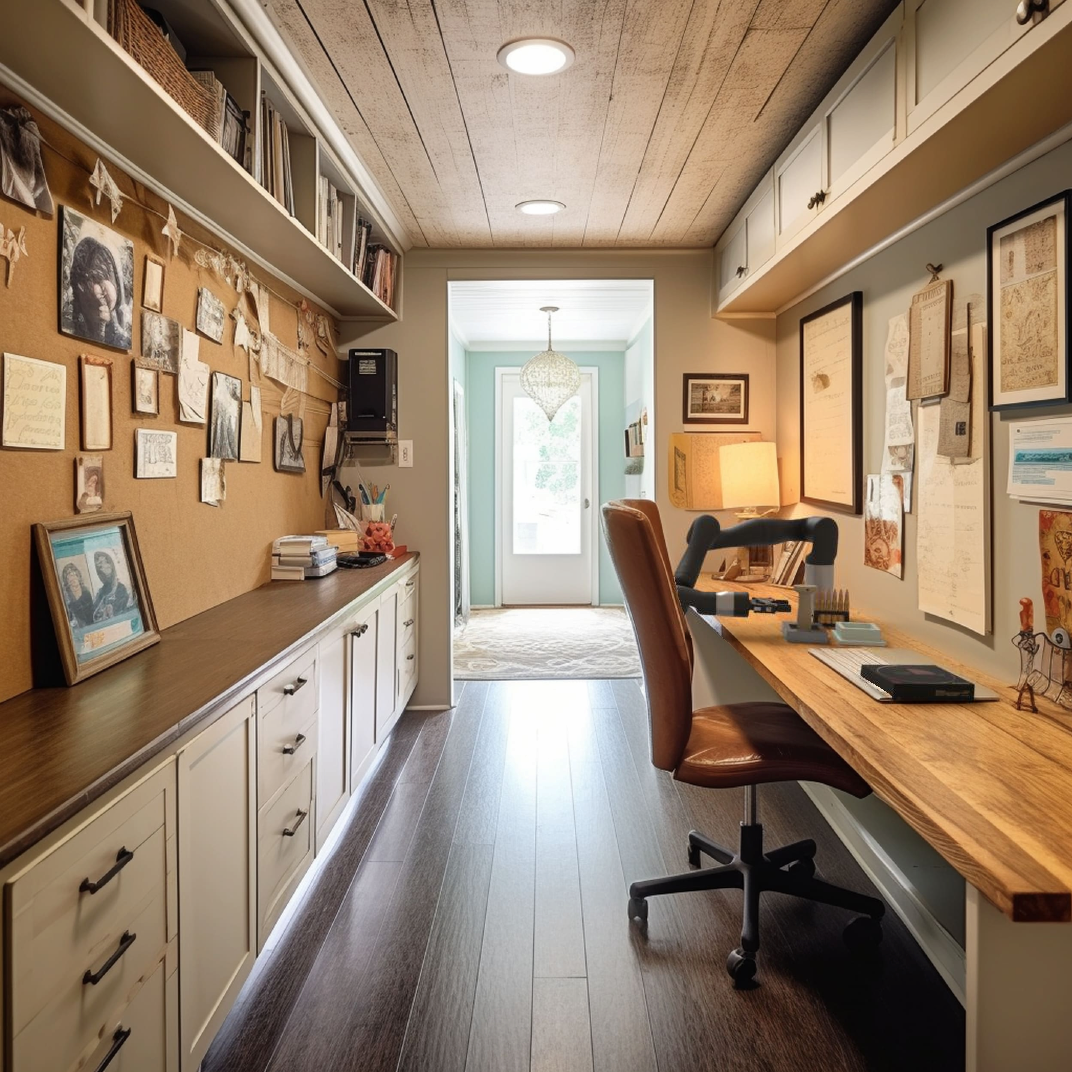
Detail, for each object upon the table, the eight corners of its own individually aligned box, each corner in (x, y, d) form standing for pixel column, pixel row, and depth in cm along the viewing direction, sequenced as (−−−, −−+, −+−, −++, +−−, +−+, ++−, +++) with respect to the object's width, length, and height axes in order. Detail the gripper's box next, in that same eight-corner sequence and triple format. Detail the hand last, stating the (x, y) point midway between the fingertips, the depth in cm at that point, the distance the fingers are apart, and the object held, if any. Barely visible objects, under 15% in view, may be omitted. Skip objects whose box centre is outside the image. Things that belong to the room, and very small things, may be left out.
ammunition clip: (848, 627, 236) (849, 588, 235) (849, 628, 234) (850, 589, 233) (812, 625, 238) (813, 587, 238) (812, 626, 237) (813, 588, 236)
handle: (790, 635, 223) (791, 584, 222) (812, 635, 222) (813, 584, 221) (795, 638, 218) (796, 586, 217) (817, 639, 218) (819, 587, 216)
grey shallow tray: (830, 633, 226) (831, 619, 226) (874, 635, 223) (874, 621, 223) (839, 644, 210) (839, 630, 210) (886, 646, 208) (886, 632, 207)
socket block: (781, 631, 229) (781, 621, 229) (820, 632, 227) (820, 622, 226) (786, 641, 214) (786, 631, 213) (827, 643, 211) (828, 633, 211)
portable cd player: (932, 681, 173) (933, 664, 173) (973, 703, 156) (974, 684, 156) (859, 681, 173) (860, 663, 173) (893, 702, 156) (893, 683, 156)
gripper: (732, 595, 217) (792, 596, 213) (731, 588, 231) (787, 589, 227) (732, 621, 217) (792, 623, 214) (731, 612, 231) (787, 614, 228)
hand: (789, 606), depth 220 cm, fingers open, 8 cm apart
